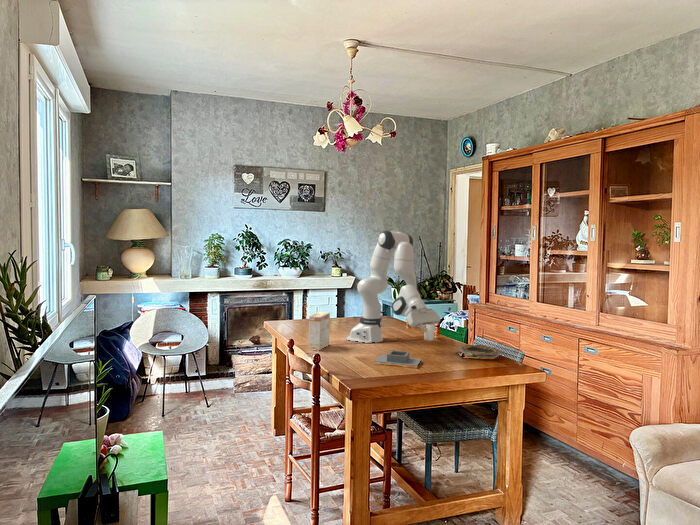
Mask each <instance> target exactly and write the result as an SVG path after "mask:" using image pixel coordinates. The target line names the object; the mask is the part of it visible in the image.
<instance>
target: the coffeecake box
mask: <svg viewBox="0 0 700 525" xmlns="http://www.w3.org/2000/svg"><path fill="white" fill-rule="evenodd" d="M330 314H331V313H330V312H327V311H317V312H316V313H313V314H311V315H309V317H308V318H309V319H308V324H309V325H308V350H309V349H316V350H320V351H322V350H323V349H322V348H324V347H326V346H327V347H329V346H330V329H331V328H330V320H331V318H330V316H331V315H330ZM328 345H329V346H328ZM327 347H326V348H327ZM321 349H322V350H321ZM324 349H325V348H324Z"/></svg>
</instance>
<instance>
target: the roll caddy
mask: <svg viewBox="0 0 700 525" xmlns="http://www.w3.org/2000/svg"><path fill="white" fill-rule="evenodd" d="M410 353H411V352H410V351H403V350H402V351H401V350H389V352H388V353H387V354H386V355H385V354H380V355H379V356H377V358H376V359H375V360H374V361H373V363H374V362H380V363H391V364H401V365H412V366H417V365H418V364H419V363H420V361H421V360H422V358H416V357H410V355H411V354H410ZM420 364H421V363H420Z"/></svg>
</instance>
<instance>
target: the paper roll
mask: <svg viewBox="0 0 700 525" xmlns="http://www.w3.org/2000/svg"><path fill="white" fill-rule="evenodd" d="M424 327H425V328H426V329H427V331H426V332H423V333H424V334H423V340H424V341H429V342H430V341H435V331H434V330H435V327H436V324H435V325H434V324H425V325H424Z"/></svg>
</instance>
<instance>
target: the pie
mask: <svg viewBox="0 0 700 525" xmlns="http://www.w3.org/2000/svg"><path fill="white" fill-rule="evenodd" d="M459 351H460V353H458V354H461V353H464V354H463V356H467V357H479V358H494V357H498V358H499V356H500V355H501V350H500V349H498V348H496V347H494V346H493V347H492V346H487V345H483V344H474V345H472V344H471V345H463V346H461V348H460V350H459ZM458 354H457V355H458Z"/></svg>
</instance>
